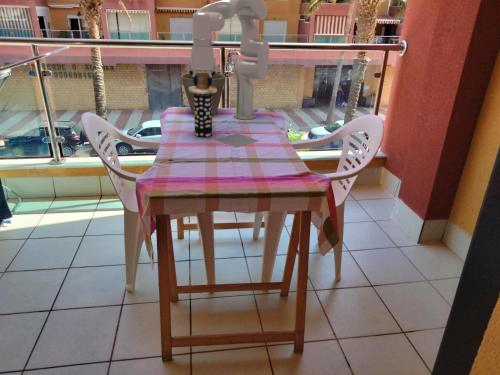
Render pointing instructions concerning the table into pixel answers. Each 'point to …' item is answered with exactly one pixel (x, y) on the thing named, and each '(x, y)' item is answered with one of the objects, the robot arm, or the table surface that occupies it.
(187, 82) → the plant pot
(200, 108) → the polka dot cylinder
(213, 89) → the lid
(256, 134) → the table surface
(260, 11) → the robot arm
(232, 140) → the mat
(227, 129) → the table surface
